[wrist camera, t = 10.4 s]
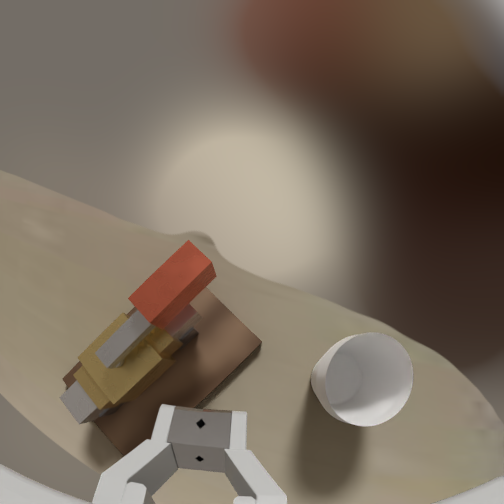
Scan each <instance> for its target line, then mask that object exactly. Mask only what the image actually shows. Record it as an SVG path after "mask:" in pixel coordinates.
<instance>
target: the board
mask: <svg viewBox="0 0 504 504" xmlns="http://www.w3.org/2000/svg"><path fill="white" fill-rule="evenodd" d="M189 304H190V305H191V306H192V307H193V308H194V309H195V310H196V311H197V312H198V313H199V315H200V316H201V317H202V319H201V320H200V321H199V322H198V323H197V324H196V325H195V326H194V328H195V329H196V330H197V331H198V332H199V333H198V334H197V335H196V336H195V337H194V338H193V339H192V340H191V341H190V342H189V343H188V344H187V345H186V346H185V347H184V348H183V349H182V350H180V349H178V350H176V351H175V352H174V353H173V354H172V355H171V356H172V357H173V358H174V359H175V360H176V362H175V363H174V364H173V365H172V366H171V367H169V368H168V369H167V370H166V371H165V372H164V373H163V374H162V375H161V376H160V377H159V378H158V379H157V380H156V381H155V382H154V383H152V384H151V385H150V386H149V387H148V388H147V389H146V390H145V391H144V392H143V393H142V394H141V395H140V396H139V397H137V398H136V399H135V400H134V401H129V402H125V403H124V404H123V405H122V406H121V407H120V408H119V409H118V410H117V411H116V412H115V413H114V414H111V415H107V416H103V417H98V418H96V419H95V420H94V422H95V423H96V424H97V426H98V427H99V428H100V429H101V430H102V432H103V433H104V434H105V435H106V436H107V438H108V439H109V440H110V441H111V442H112V443H113V444H114V445H115V447H116V448H117V449H118V450H119V451H120V452H121V453H122V454H123V455H124V456H126V455H127V454H128V453H130V452H131V451H132V450H133V449H135V448H136V447H137V446H139V445H140V444H141V443H142V442H144V441H145V440H146V439H149V440H151V437H152V433H153V430H154V426H155V422H156V419H157V415H158V412H159V408H160V406H161V405H162V404H166V405H173V406H180V407H187V408H195V407H196V406H197V405H198V404H199V403H200V402H201V401H202V400H203V399H204V398H205V397H207V396H208V395H209V394H210V393H211V392H212V391H213V390H214V389H215V388H216V387H217V386H218V385H219V384H220V383H221V382H222V381H223V380H224V379H225V378H227V377H228V376H229V375H230V374H231V373H232V372H233V371H234V370H235V369H236V368H237V367H238V366H239V365H240V364H241V363H242V362H243V361H244V360H245V359H246V358H247V357H248V356H249V355H250V354H251V353H252V352H253V351H254V350H255V349H256V348H257V347H258V346H259V345H260V344H261V343H262V341H261V340H260V339H259V338H258V337H257V336H256V335H255V334H254V333H252V332H251V331H250V330H249V329H248V328H247V327H246V326H245V325H244V324H243V323H242V322H241V321H240V320H239V319H238V318H237V317H236V316H235V315H234V314H233V313H232V312H231V311H230V310H229V309H228V308H227V307H226V306H225V305H224V304H222V303H221V302H220V301H219V300H218V299H217V298H216V297H215V296H214V295H213V294H212V293H211V292H210V291H209V290H208V289H207V288H206V287H205V288H204V289H203V290H202V291H201V292H200V293H199V294H198V295H197V296H196V297H195V298H194V299H193V300H192V301H191V302H190V303H189ZM137 310H138V309H137V308H136V307H134V308H133V309H132V310H131V311H130V312H129V313H128V314H127V315H129V316H132V315H133V314H134V313H135V312H136V311H137ZM82 366H83V365H82V363H81V362H80V361H79V362H78V363H77V364H76V365H75V366H74V367H73V369H72V370H71V371H70V372H69V373H68V374H67V375H66V376H65V377H64V378H63V381H64V382H65V384H66V385H67V386H68V388H69V387H70V386H71V385H72V384H73V383H74V382H75V381H76V378H75V377H74V376H73V375H74V374H75V373H76V372H77V371H78V370H79V369H80V368H81V367H82Z"/></svg>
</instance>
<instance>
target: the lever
mask: <svg viewBox="0 0 504 504" xmlns="http://www.w3.org/2000/svg"><path fill="white" fill-rule="evenodd" d="M215 277H216V273H215V270H214V267H213V264H212V262H211V261H210V260H209V259H208V258H207V257H206V256H205V255H204V254H203V253H202V252H201V251H200V250H198V249H197V248H196V247H195V246H194V245H193V244H192V243H191V242H190V241H189V240H188V241H187V242H186V243H185V244H184V245H183V246H182V247H181V248H179V249H178V250H177V251H176V252H175V253H174V254H173V255H172V256H171V257H170V258H169V259H168V260H167V261H166V262H165V263H164V264H163V265H162V266H161V267H160V268H158V269H157V270H156V271H155V272H154V273H153V274H152V275H151V276H150V277H149V278H148V279H147V280H146V281H145V282H144V283H143V284H142V285H141V286H140V287H139V288H138V289H137V290H136V291H135V292H134V293H133V294H132V295H131V296H130V297H129V298H128V299H129V300H130V301H131V302H132V303H133V305H134V306H135V307H136V308H137V309H138V310H137V311H136V312H135V313H134V314H133V315H132V316H131V317H130V318H129V319H128V320H127V321H126V322H125V323H124V324H123V325H122V326H121V327H120V328H119V329H118V330H117V331H116V332H115V333H114V334H113V335H112V336H111V337H110V338H109V339H108V340H107V341H106V342H105V343H104V344H103V345H102V346H101V347H100V348H99V349H98V350H97V351H96V352H95V354H96V355H97V356H98V358H99V359H100V360H101V361H102V363H103V364H104V365H105V366H106V368H110V369H114V368H119V367H121V366H122V365H123V364H124V360H125V357H126V356H127V355H128V354H129V353H130V352H131V351H132V350H133V349H134V348H135V347H136V346H137V345H138V344H139V343H140V342H141V341H142V340H143V339H144V338H145V337H146V336H147V335H148V334H149V333H150V332H151V331H152V330H153V329H154V328H155V327H156V326H157V327H159V328H160V329H162V330H163V329H164V328H165V327H166V326H167V325H168V324H169V323H170V322H171V321H172V320H173V319H174V318H175V317H176V316H177V315H178V314H179V313H180V312H181V311H182V310H183V309H184V308H185V307H186V306H187V305H188V304H189V303H190V302H191V301H192V300H193V299H194V298H195V297H196V296H197V295H198V294H199V293H200V292H201V291H202V290H203V289H204V288H205V287H206V286H207V285H208V284H209V283H210V282H211V281H212V280H213V279H214V278H215Z"/></svg>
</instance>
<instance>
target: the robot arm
mask: <svg viewBox="0 0 504 504" xmlns="http://www.w3.org/2000/svg"><path fill="white" fill-rule="evenodd" d="M246 438H247V412H242V411H228V410H211V409H195V408H187V407H180V406H173V405H166V404H162V405H161V406H160V408H159V412H158V415H157V419H156V422H155V426H154V430H153V433H152V437H151V440H149V439H146V440H145V441H144V442H142V443H141V444H140V445H139V446H137V447H136V448H135V449H133V450H132V451H131V452H130V453H128V454H127V455H126V456H124V457H123V458H122V459H120V460H119V461H118V462H116V463H115V464H114V465H112V466H111V467H110V468H108V469H107V470H106V471H104V472H103V473H102V474H101V477H100V480H99V483H98V486H97V489H96V492H95V495H94V498H93V501H92V503H90V502H88V501H84V500H81V499H79V498H76V497H73V496H70V495H68V494H65V493H63V492H60V491H57V490H55V489H52V488H50V487H48V486H45V485H43V484H41V483H38V482H36V481H34V480H32V479H30V478H28V477H25V476H23V475H21V474H19V473H17V472H15V471H13V470H11V469H9V468H7V467H6V466H4V465H1V464H0V504H155V502H154V501H153V499H152V497H151V496H152V495H153V494H154V493H155V492H156V491H157V490H158V489H159V488H160V487H161V486H162V485H163V484H164V483H165V482H166V481H167V480H168V479H169V478H170V477H171V476H172V475H173V474H174V473H175V472H176V471H177V470H178V468H184V469H194V470H204V471H213V472H223V473H225V474H226V476H227V477H228V479H229V481H230V482H231V484H232V486H233V487H234V489H235V491H236V492H237V494H238V495H239V496H238V497H236V498H235V499H234V504H287V496H286V494H285V493H284V492H283V491H282V490H281V488H280V487H279V486H278V485H277V484H276V482H275V481H274V480H273V479H272V477H271V476H270V475H269V474H268V472H267V471H266V470H265V468H264V467H263V466H262V465H261V463H260V462H259V461H258V459H257V458H256V457H255V455H254V454H253V453H252V451H251V450H246ZM431 504H504V476H500V477H497V478H495V479H493V480H490V481H488V482H486V483H484V484H482V485H479V486H477V487H475V488H472V489H470V490H467V491H465V492H462V493H460V494H457V495H454V496H452V497H449V498H446V499H443V500H440V501H437V502H434V503H431Z"/></svg>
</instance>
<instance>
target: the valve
mask: <svg viewBox="0 0 504 504" xmlns="http://www.w3.org/2000/svg"><path fill="white" fill-rule="evenodd" d="M130 317H131V316H129V315H127V314H125V313H122V314H121V315H120V316H119V317H118V318H117V319H116V320H115V321H114V322H113V323H112V324H111V325H110V326H109V327H108V328H107V329H106V330H105V331H104V332H103V333H102V334H101V335H100V336H99V337H98V338H97V339H96V340H95V341H94V342H93V343H92V344H91V345H90V346H89V347H88V348H87V349H86V350H85V351H84V352H83V353H82V354H81V355H80V356H79V357H78V359H79V360H80V362H81V363H82V365H83V366H82V367H81V368H80V369H79V370H78V371H77V372H76V373H75V374H74V375H73V376H74V377H75V378H76V381H75V382H74V383H73V384H72V385H71V386H70V387H69V388H68V390H67V391H66V392H65V393H64V394H63V395H62V396H61V397H60V399H61V400H62V402H63V403H64V404H65V406H66V407H67V409H68V410H69V411H70V413H71V414H72V415H73V417H74V418H75V419H76V421H77V422H78V423H79V424H83V423H87V422H91V421H94V420H95V419H96V418H98V417H103V416H107V415H111V414H114V413H115V412H116V411H117V410H118V409H119V408H120V407H121V406H122V405H123V404H124V403H125V402H129V401H134V400H135V399H136V398H137V397H139V396H140V395H141V394H142V393H143V392H144V391H145V390H146V389H147V388H148V387H149V386H150V385H151V384H152V383H154V382H155V381H156V380H157V379H158V378H159V377H160V376H161V375H162V374H163V373H164V372H165V371H166V370H167V369H168V368H169V367H171V366H172V365H173V364H174V363H175V362H176V360H175V359H174V358H173V357H172V356H171V355H172V354H173V353H174V352H175V351H176V350H178V349H180V350H182V349H183V348H184V347H185V346H186V345H187V344H188V343H189V342H190V341H191V340H192V339H193V338H194V337H195V336H196V335H197V334H198V333H199V332H198V331H197V330H196V329H195V328H194V326H195V325H196V324H197V323H198V322H199V321H200V320H201V319H202V317H201V316H200V315H199V313H198V312H197V311H196V310H195V309H194V308H193V307H192V306H191V305H190V304H188V305H187V306H186V307H185V308H184V309H183V310H182V311H181V312H180V313H179V314H178V315H177V316H176V317H175V318H174V319H173V320H172V321H171V322H170V323H169V324H168V325H167V326H166V327H165V328H164V329H163V330H162V329H160V328H159V327H157V326H156V327H155V328H154V329H153V330H152V331H151V332H150V333H149V334H148V335H147V336H146V337H145V338H144V339H143V340H142V341H141V342H140V343H139V344H138V345H137V346H136V347H135V348H134V349H133V350H132V351H131V352H130V353H129V354H128V355H127V356H126V357H125V360H124V364H123V365H122V366H121V367H119V368H114V369H110V368H106V366H105V365H104V364H103V363H102V361H101V360H100V359H99V358H98V356H97V355H96V354H95V352H96V351H97V350H98V349H99V348H100V347H101V346H102V345H103V344H104V343H105V342H106V341H107V340H108V339H109V338H110V337H111V336H112V335H113V334H114V333H115V332H116V331H117V330H118V329H119V328H120V327H121V326H122V325H123V324H124V323H125V322H126V321H127V320H128V319H129V318H130Z"/></svg>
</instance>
